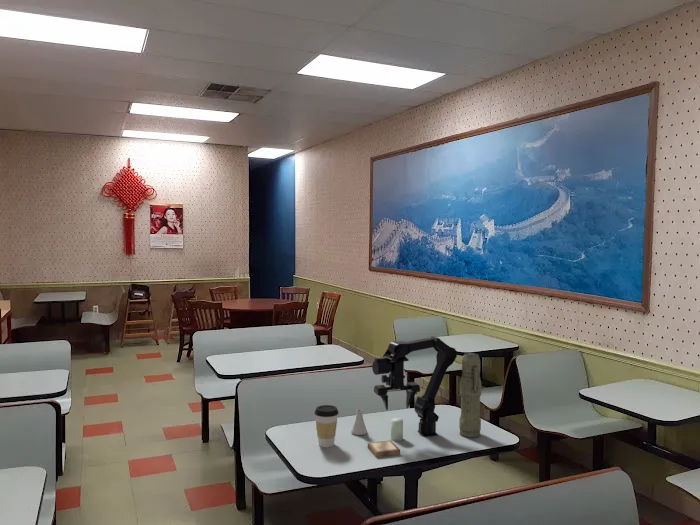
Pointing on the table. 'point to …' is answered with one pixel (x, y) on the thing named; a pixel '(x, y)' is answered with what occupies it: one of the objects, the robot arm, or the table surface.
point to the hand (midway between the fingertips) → (397, 408)
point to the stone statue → (470, 396)
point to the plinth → (383, 448)
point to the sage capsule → (396, 429)
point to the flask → (359, 424)
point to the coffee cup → (326, 424)
